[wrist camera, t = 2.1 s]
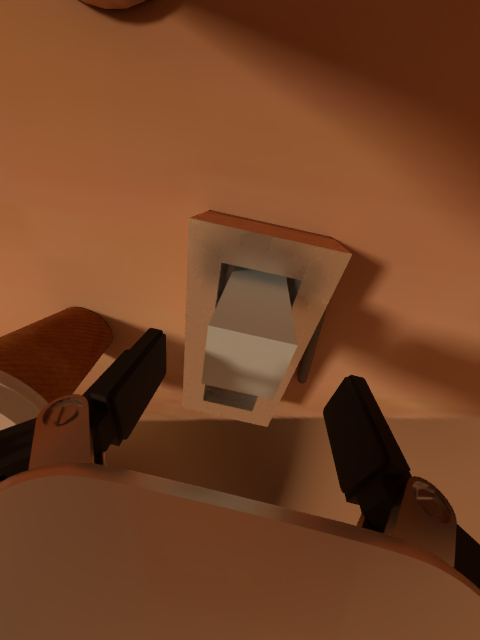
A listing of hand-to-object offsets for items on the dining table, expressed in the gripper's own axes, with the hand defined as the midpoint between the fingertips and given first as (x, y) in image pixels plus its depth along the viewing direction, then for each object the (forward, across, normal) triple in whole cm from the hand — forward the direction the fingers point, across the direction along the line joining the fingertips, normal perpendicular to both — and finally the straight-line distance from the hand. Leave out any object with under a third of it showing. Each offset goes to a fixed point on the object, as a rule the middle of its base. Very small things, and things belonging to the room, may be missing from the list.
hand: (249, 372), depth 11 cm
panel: (+11, +1, +4) cm, 12 cm away
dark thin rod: (+11, -6, +3) cm, 13 cm away
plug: (+10, 0, -1) cm, 10 cm away
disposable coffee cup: (+11, +20, +10) cm, 25 cm away
